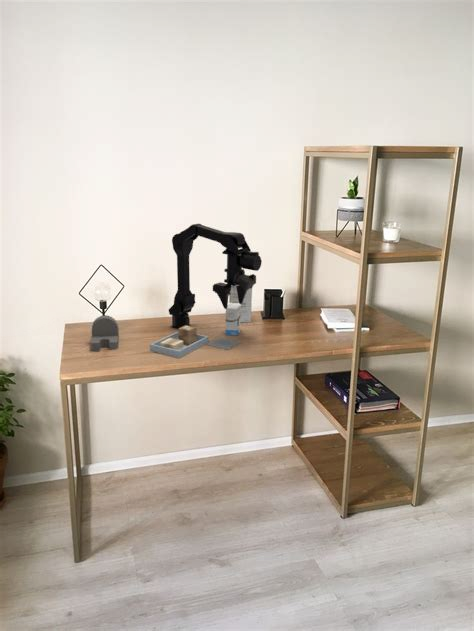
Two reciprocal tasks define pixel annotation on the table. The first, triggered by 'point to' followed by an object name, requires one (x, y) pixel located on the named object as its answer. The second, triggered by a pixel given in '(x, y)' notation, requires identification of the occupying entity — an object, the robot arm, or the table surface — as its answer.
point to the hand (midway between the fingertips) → (233, 306)
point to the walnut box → (187, 335)
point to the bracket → (104, 333)
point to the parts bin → (178, 353)
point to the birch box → (172, 344)
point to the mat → (223, 343)
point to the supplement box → (245, 304)
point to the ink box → (233, 319)
